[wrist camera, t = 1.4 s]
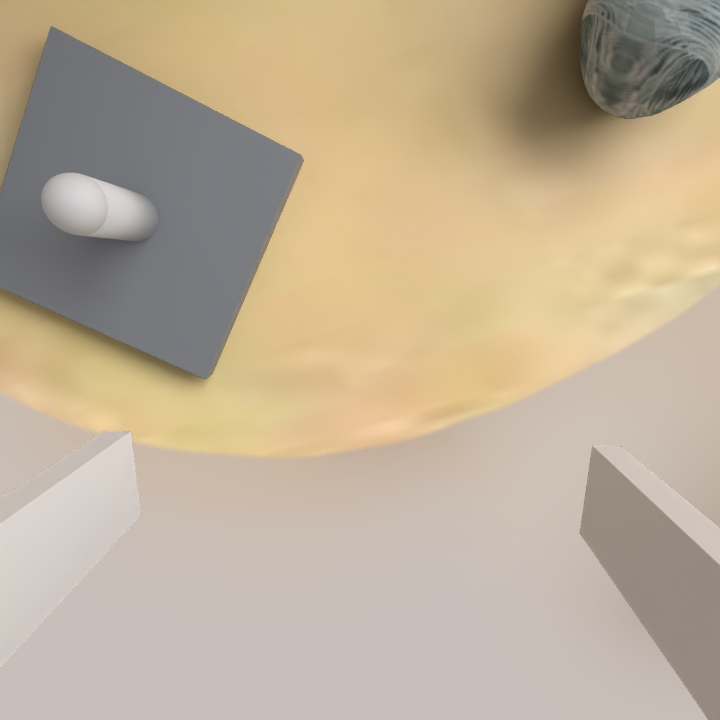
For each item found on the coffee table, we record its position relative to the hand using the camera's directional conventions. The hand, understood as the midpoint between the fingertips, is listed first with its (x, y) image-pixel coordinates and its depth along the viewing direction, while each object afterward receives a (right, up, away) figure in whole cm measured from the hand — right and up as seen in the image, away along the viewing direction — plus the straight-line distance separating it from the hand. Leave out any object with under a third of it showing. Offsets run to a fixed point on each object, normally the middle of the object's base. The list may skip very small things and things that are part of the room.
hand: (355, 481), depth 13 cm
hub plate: (-14, +13, +17) cm, 26 cm away
